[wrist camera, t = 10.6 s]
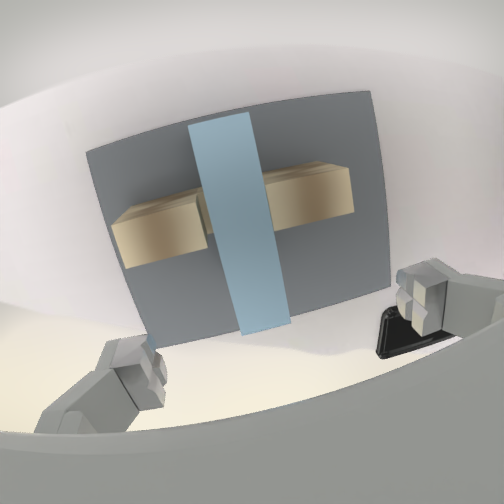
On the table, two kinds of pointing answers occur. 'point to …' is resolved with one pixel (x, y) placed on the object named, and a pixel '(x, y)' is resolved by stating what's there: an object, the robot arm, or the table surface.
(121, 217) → the beech rail
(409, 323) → the phone
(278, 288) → the blue plate
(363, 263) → the mat
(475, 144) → the table surface
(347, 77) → the table surface
